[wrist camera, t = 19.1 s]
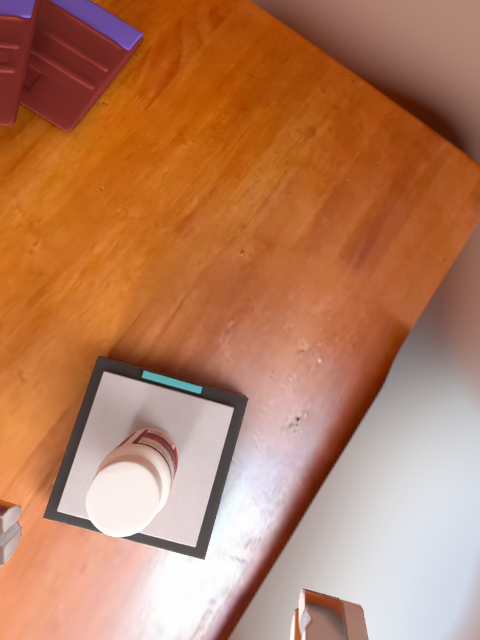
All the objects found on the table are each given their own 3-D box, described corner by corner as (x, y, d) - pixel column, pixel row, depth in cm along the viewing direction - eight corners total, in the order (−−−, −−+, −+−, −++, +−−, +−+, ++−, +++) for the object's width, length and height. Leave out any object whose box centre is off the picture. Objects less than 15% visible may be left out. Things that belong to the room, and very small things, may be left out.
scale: (245, 395, 31) (249, 399, 28) (204, 544, 30) (204, 564, 27) (106, 356, 31) (95, 355, 28) (56, 505, 29) (38, 521, 26)
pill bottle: (127, 497, 27) (88, 558, 18) (112, 437, 27) (69, 469, 19) (186, 478, 27) (175, 529, 19) (171, 419, 28) (154, 443, 19)
